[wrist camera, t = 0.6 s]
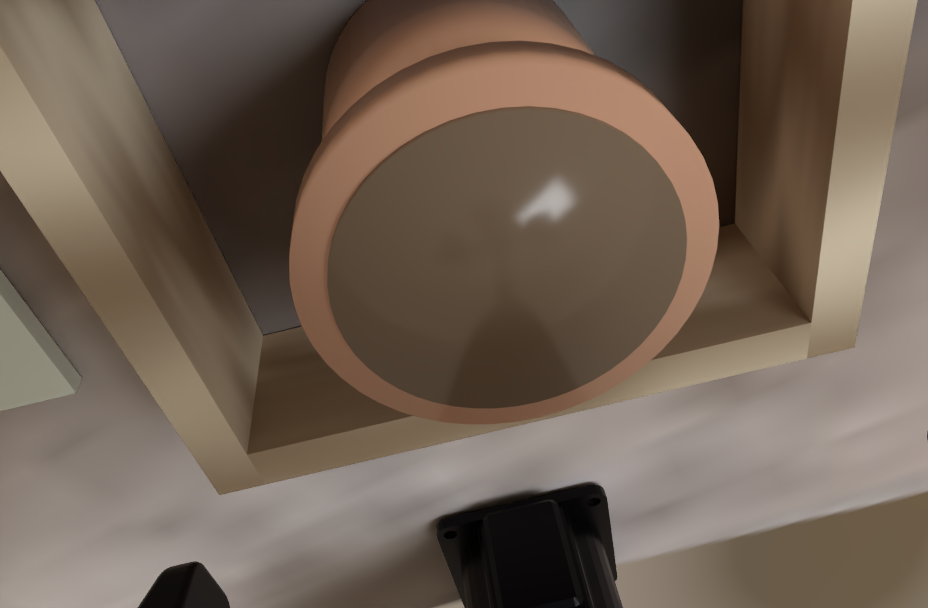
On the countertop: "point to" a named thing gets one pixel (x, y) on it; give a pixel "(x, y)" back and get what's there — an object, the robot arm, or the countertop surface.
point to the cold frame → (290, 352)
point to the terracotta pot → (493, 214)
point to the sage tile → (29, 356)
